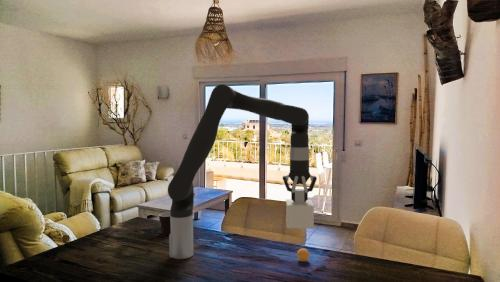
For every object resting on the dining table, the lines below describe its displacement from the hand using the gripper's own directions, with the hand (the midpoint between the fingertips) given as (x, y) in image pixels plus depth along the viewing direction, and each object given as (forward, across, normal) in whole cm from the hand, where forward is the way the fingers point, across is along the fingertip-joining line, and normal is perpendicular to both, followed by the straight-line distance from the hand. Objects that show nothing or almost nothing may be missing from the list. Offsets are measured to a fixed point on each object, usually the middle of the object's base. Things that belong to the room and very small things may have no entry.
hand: (299, 201), depth 134 cm
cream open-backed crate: (+9, 0, 0) cm, 9 cm away
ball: (+22, +1, 0) cm, 22 cm away
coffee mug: (+24, -64, +31) cm, 75 cm away
